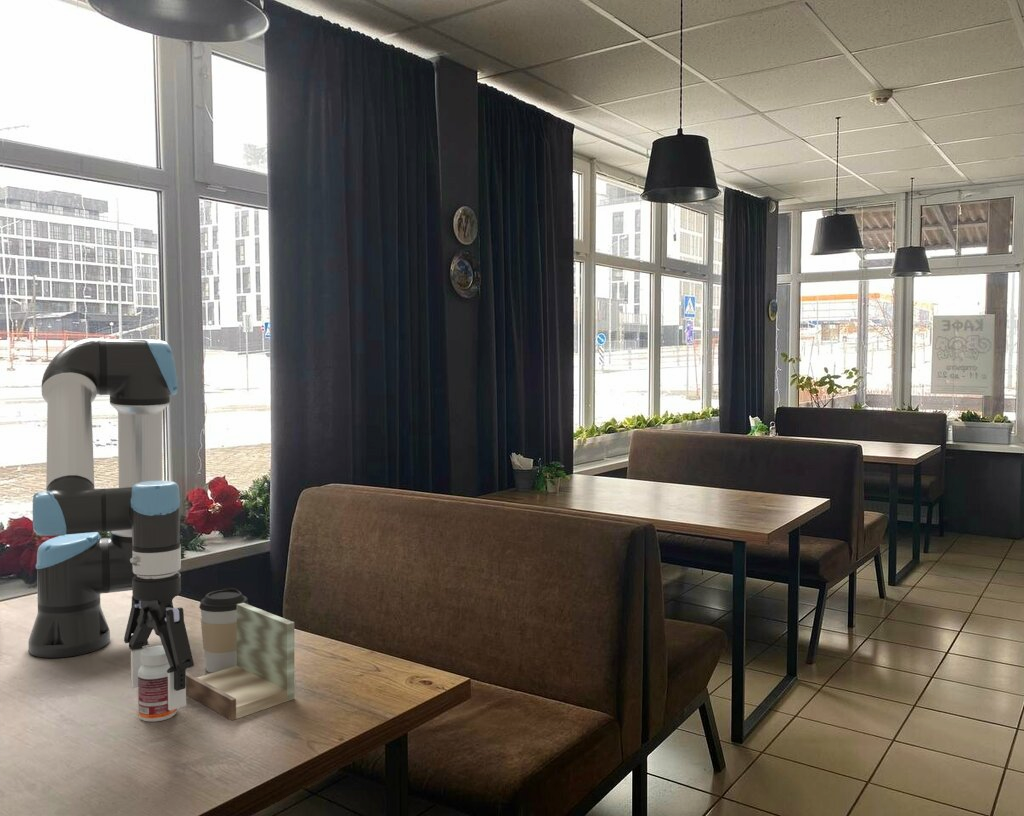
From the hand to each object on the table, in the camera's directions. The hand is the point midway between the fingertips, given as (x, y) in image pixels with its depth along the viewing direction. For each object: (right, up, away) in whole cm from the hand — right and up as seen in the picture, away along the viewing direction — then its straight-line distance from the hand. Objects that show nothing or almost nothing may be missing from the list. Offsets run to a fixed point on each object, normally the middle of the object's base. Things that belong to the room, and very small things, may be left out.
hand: (157, 696), depth 140 cm
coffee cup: (+3, -2, +23) cm, 23 cm away
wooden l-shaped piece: (+11, -3, +9) cm, 14 cm away
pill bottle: (0, -4, 0) cm, 4 cm away
